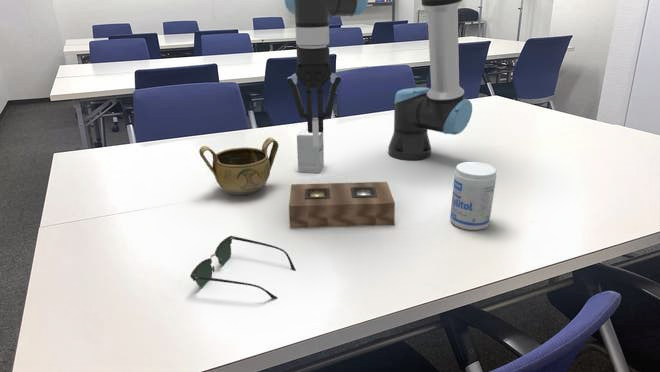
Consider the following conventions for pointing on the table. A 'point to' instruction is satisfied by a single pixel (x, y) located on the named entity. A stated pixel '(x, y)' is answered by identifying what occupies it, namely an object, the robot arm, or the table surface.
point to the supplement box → (309, 152)
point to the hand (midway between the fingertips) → (316, 144)
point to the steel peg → (363, 192)
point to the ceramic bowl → (242, 167)
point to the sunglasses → (223, 254)
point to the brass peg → (317, 194)
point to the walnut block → (341, 205)
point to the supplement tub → (472, 195)
